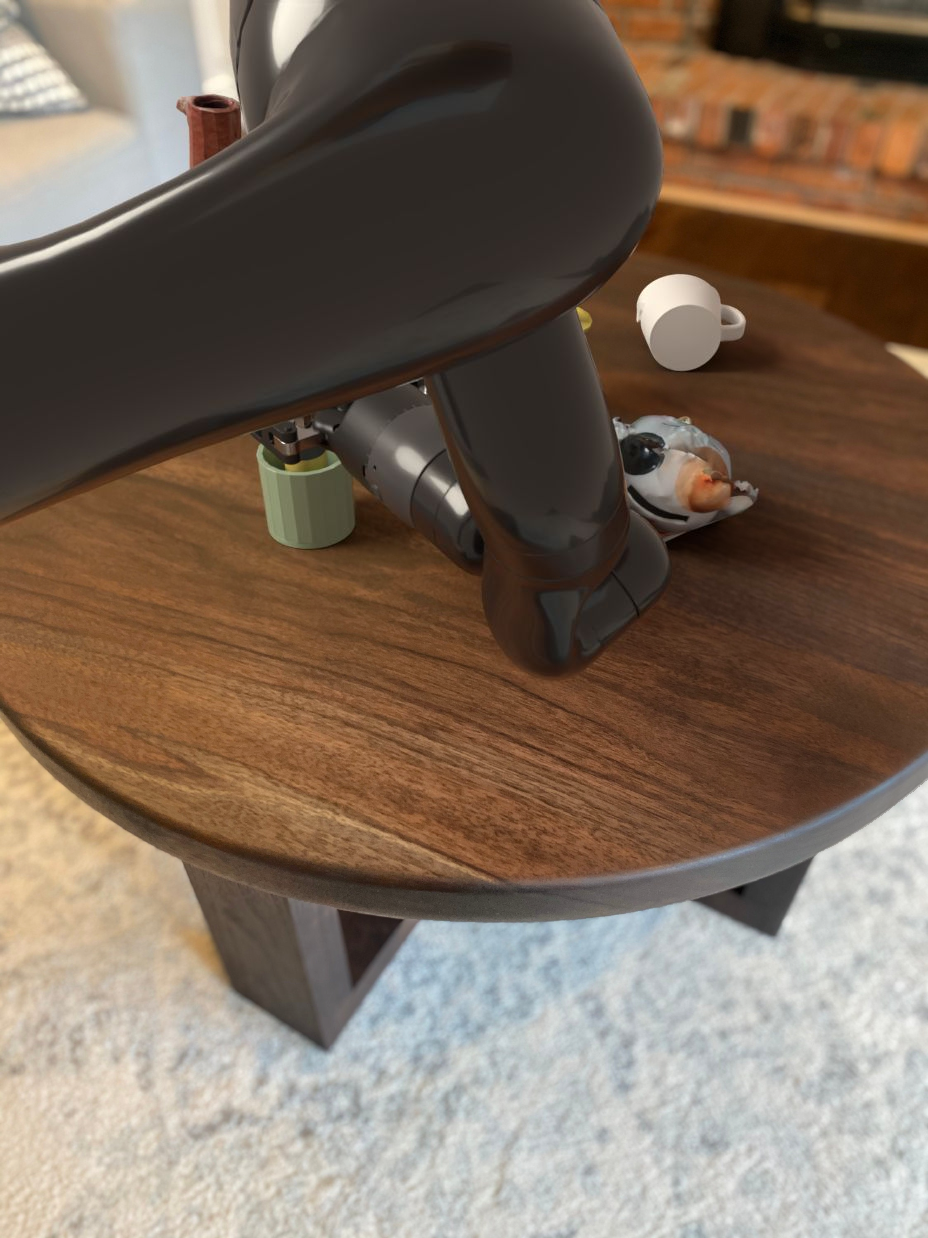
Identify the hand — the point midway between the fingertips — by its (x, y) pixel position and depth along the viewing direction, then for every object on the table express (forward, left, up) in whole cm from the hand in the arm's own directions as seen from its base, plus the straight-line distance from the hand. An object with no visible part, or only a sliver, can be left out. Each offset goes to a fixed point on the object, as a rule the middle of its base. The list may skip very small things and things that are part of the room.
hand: (305, 367), depth 72 cm
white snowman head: (+29, -7, -16) cm, 34 cm away
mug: (+48, +23, -16) cm, 56 cm away
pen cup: (-1, +2, -16) cm, 16 cm away
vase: (-3, +23, -16) cm, 28 cm away
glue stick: (0, +2, -15) cm, 16 cm away
